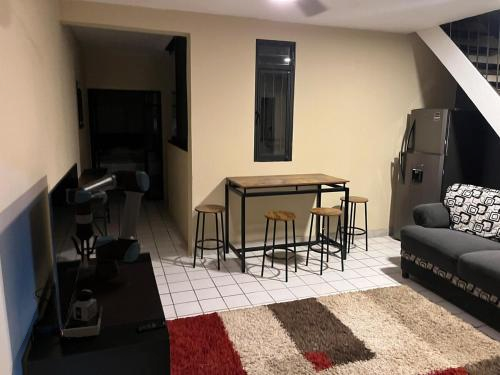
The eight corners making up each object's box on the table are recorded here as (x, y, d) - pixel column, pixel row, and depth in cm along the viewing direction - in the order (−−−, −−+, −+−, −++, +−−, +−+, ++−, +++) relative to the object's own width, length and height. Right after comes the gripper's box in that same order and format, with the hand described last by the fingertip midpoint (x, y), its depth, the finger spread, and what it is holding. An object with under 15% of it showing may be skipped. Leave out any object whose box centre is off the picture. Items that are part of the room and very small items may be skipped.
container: (87, 321, 186) (86, 296, 183) (73, 319, 187) (71, 294, 185) (97, 313, 193) (96, 289, 191) (83, 311, 195) (81, 287, 192)
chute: (70, 311, 194) (70, 304, 193) (102, 308, 198) (102, 301, 197) (62, 339, 171) (61, 330, 170) (98, 334, 175) (98, 326, 175)
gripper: (68, 224, 188) (70, 271, 192) (97, 223, 191) (99, 269, 196) (71, 220, 195) (73, 265, 199) (99, 219, 198) (100, 263, 203)
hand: (86, 267), depth 197 cm, fingers closed
